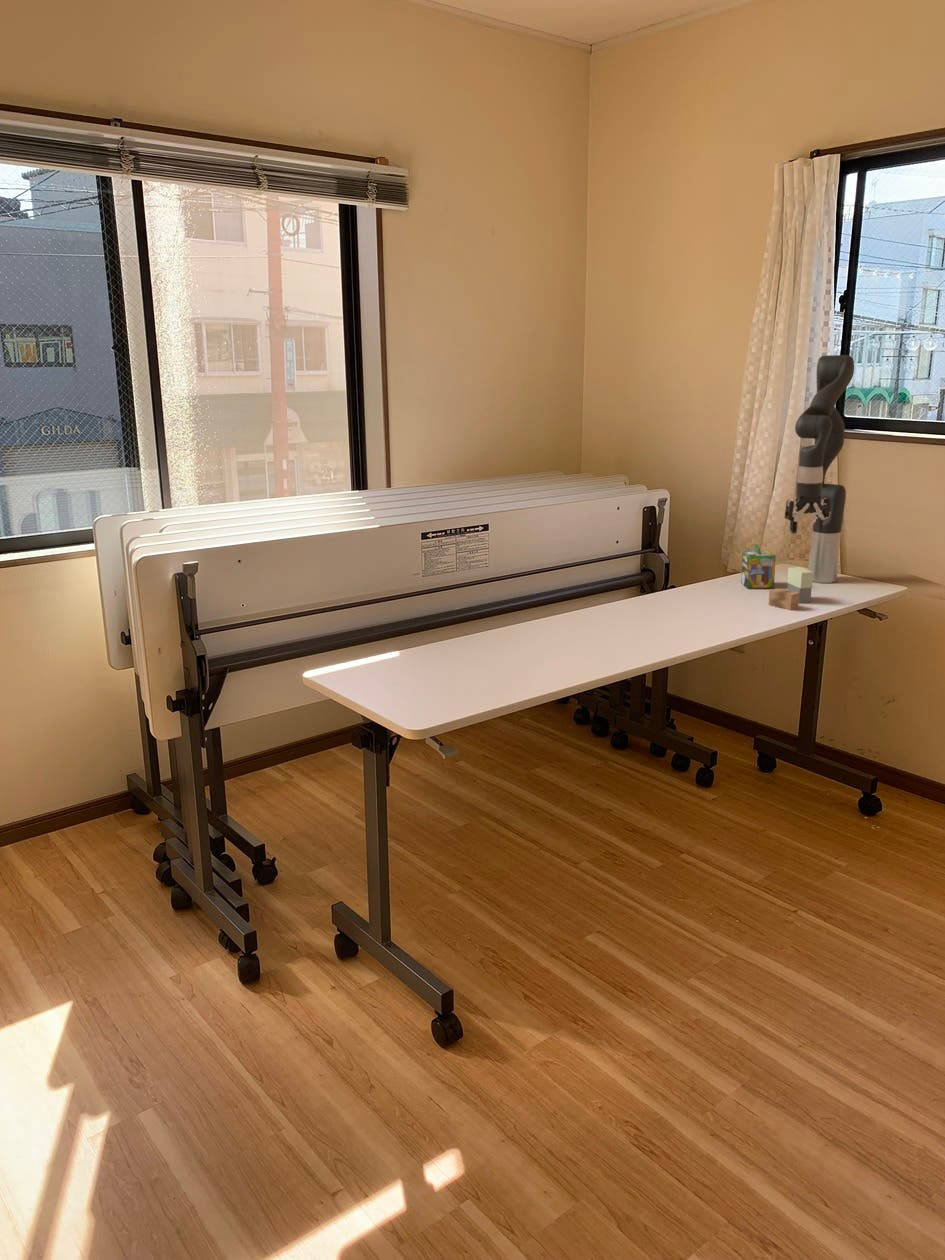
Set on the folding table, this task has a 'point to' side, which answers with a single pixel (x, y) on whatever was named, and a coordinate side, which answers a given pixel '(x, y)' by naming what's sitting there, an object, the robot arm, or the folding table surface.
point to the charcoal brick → (801, 593)
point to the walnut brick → (783, 599)
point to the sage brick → (800, 577)
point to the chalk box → (758, 569)
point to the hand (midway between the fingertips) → (805, 532)
